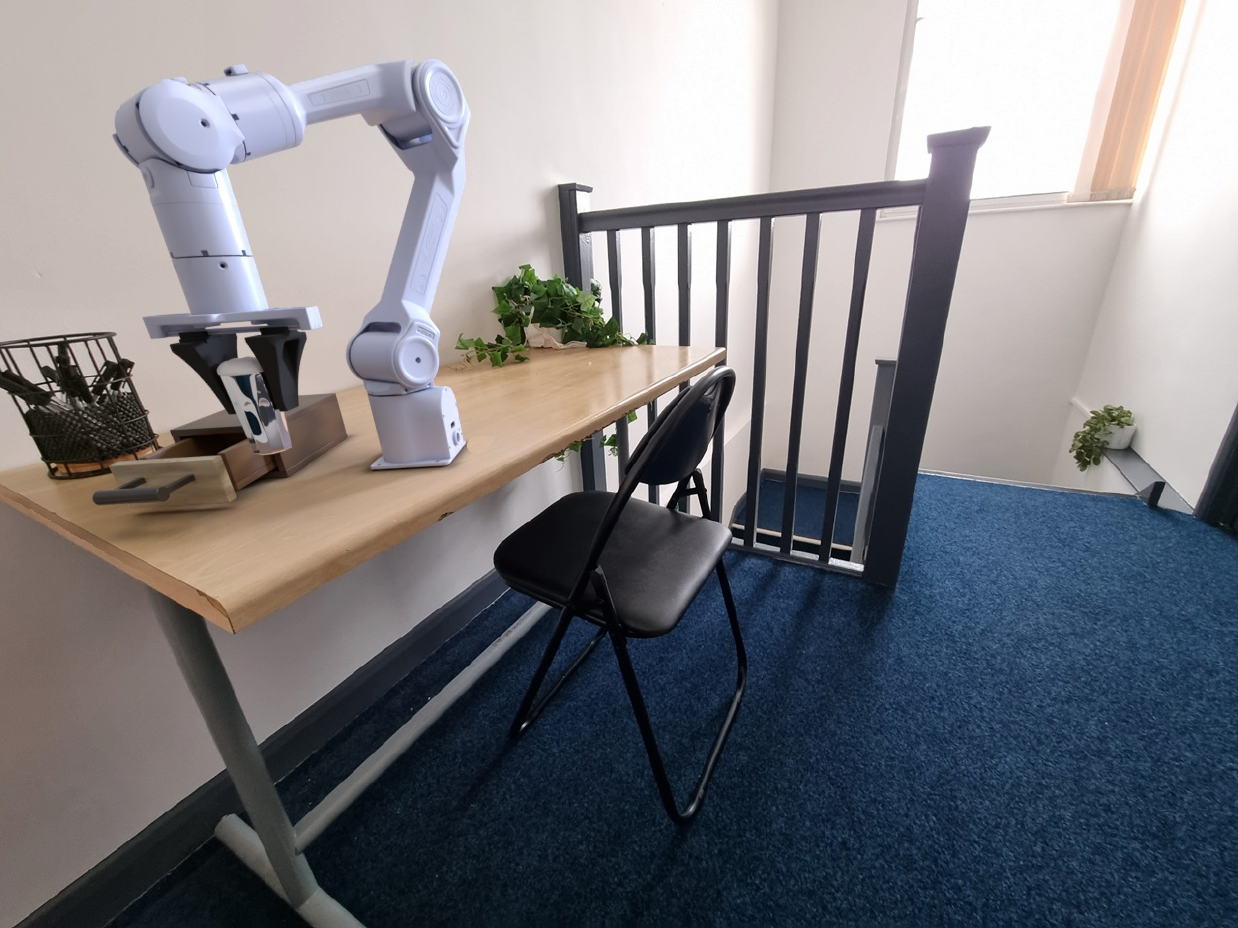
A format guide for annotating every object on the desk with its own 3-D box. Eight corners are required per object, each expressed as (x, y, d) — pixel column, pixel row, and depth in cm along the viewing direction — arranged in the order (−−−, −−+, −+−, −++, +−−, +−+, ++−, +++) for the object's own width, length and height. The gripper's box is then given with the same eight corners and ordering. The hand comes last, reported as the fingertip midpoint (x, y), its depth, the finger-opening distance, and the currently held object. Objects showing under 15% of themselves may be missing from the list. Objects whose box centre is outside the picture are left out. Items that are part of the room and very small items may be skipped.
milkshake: (315, 439, 52) (287, 341, 48) (278, 457, 47) (243, 350, 43) (275, 439, 52) (244, 342, 48) (234, 458, 47) (196, 352, 43)
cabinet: (288, 477, 59) (270, 424, 57) (191, 482, 59) (169, 430, 57) (347, 437, 73) (335, 393, 70) (269, 441, 73) (254, 397, 70)
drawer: (194, 525, 47) (173, 478, 45) (84, 531, 47) (59, 485, 45) (304, 455, 63) (293, 419, 62) (223, 460, 63) (209, 424, 62)
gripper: (85, 263, 39) (154, 426, 44) (267, 252, 39) (315, 417, 44) (160, 263, 46) (212, 406, 51) (316, 254, 46) (353, 398, 51)
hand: (264, 410), depth 48 cm, fingers closed on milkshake, 4 cm apart
